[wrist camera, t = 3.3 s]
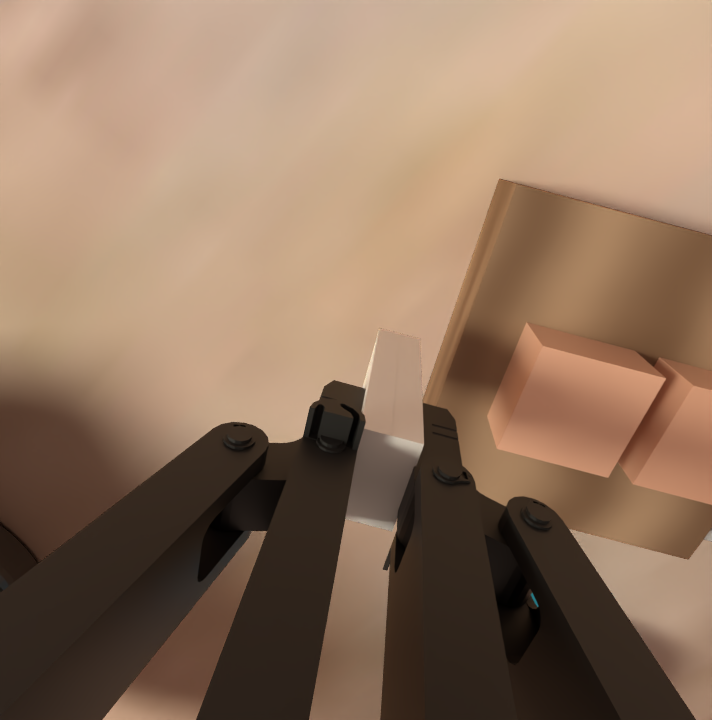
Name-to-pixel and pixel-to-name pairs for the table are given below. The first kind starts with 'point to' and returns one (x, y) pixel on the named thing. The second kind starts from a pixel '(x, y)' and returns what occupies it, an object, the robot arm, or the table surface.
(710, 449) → the tile
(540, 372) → the tile
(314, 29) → the table surface
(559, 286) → the brown square slab
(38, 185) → the table surface
